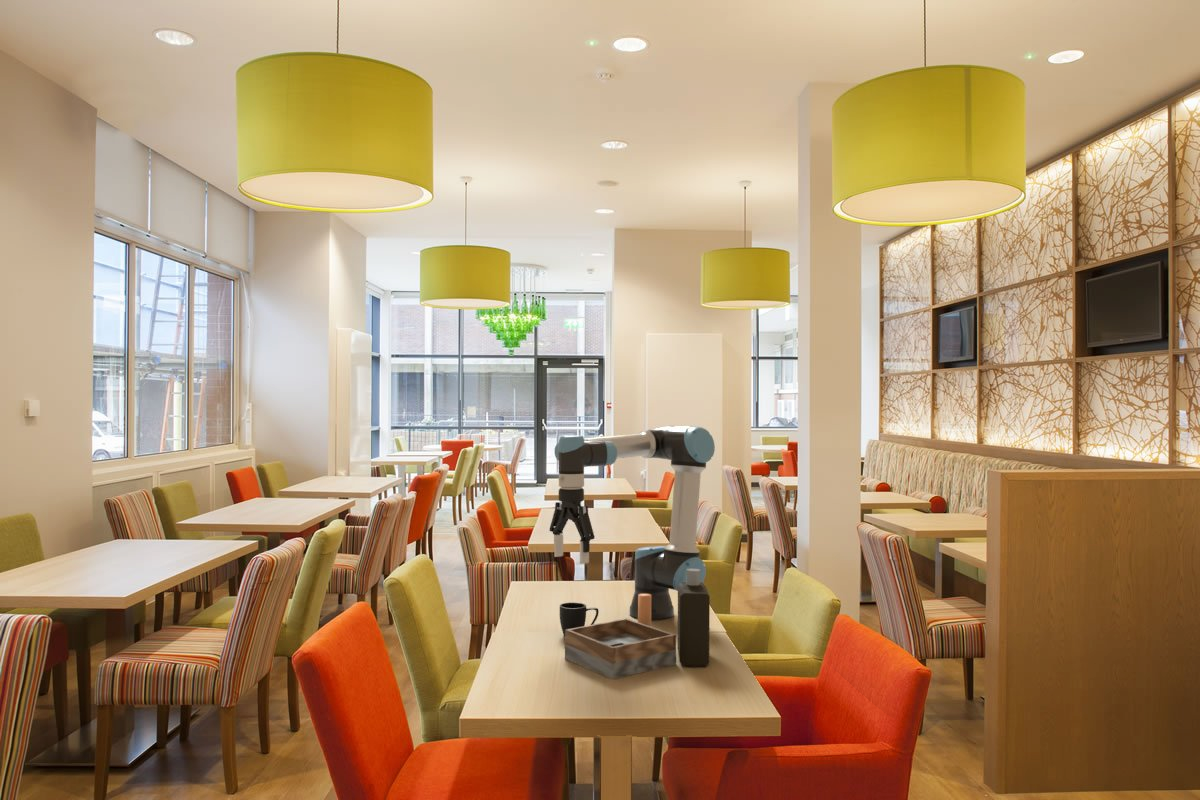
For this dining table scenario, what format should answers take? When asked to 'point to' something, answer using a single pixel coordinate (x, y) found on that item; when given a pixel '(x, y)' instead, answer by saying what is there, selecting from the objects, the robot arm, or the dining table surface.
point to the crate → (620, 647)
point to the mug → (574, 615)
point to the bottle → (693, 621)
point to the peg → (644, 609)
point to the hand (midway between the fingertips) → (571, 559)
